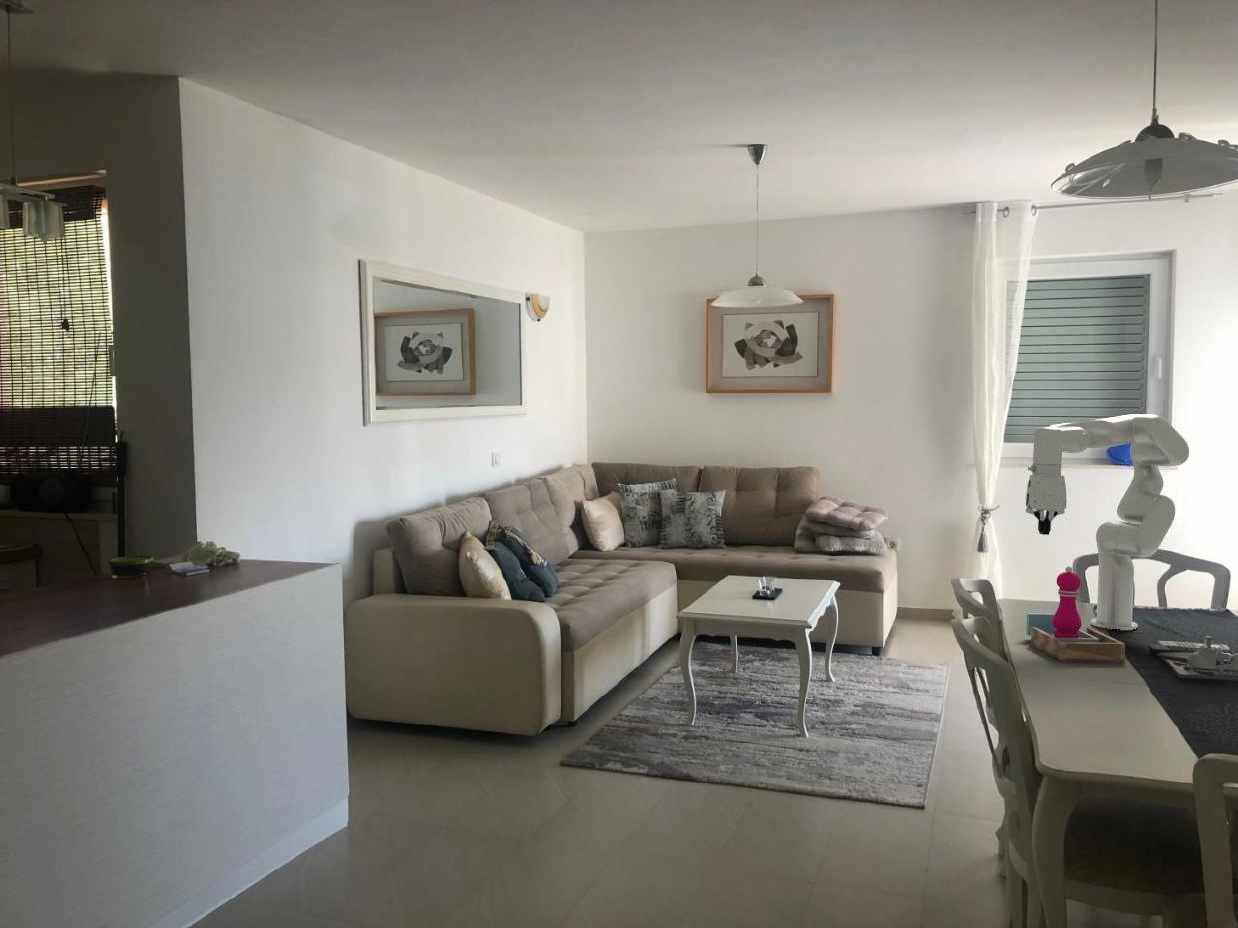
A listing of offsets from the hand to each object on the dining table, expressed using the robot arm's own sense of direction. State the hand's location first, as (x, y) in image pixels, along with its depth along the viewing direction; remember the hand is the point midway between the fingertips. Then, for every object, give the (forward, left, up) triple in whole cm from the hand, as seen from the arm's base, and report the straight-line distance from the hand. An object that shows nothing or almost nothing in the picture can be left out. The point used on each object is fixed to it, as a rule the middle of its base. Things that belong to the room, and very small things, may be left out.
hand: (1044, 534), depth 283 cm
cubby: (+23, 0, -29) cm, 37 cm away
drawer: (+14, 0, -28) cm, 31 cm away
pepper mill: (+16, 0, -27) cm, 31 cm away
